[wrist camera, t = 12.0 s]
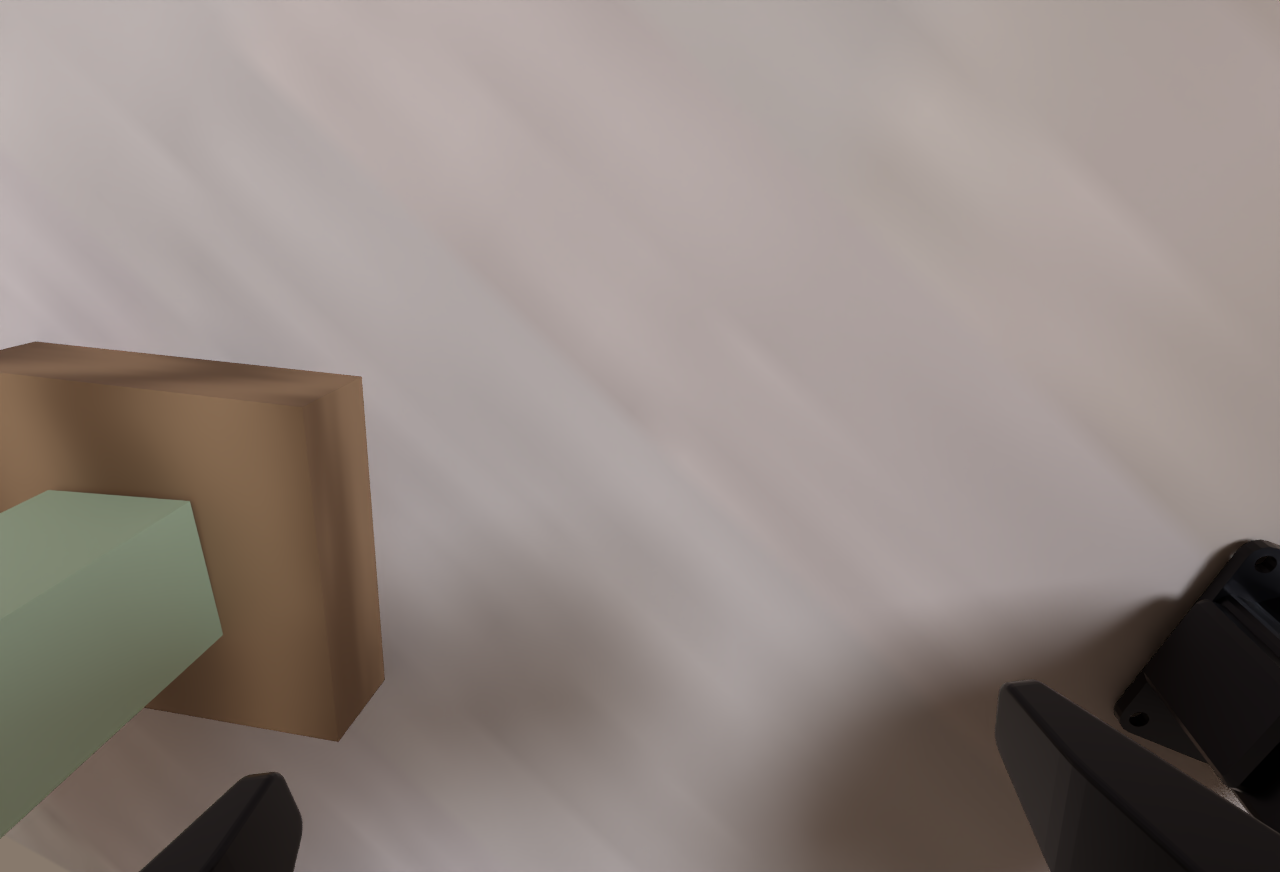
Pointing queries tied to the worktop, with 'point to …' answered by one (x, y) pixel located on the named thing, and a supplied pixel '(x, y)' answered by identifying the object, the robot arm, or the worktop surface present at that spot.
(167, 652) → the green block
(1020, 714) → the robot arm
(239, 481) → the walnut riser
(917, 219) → the worktop surface
